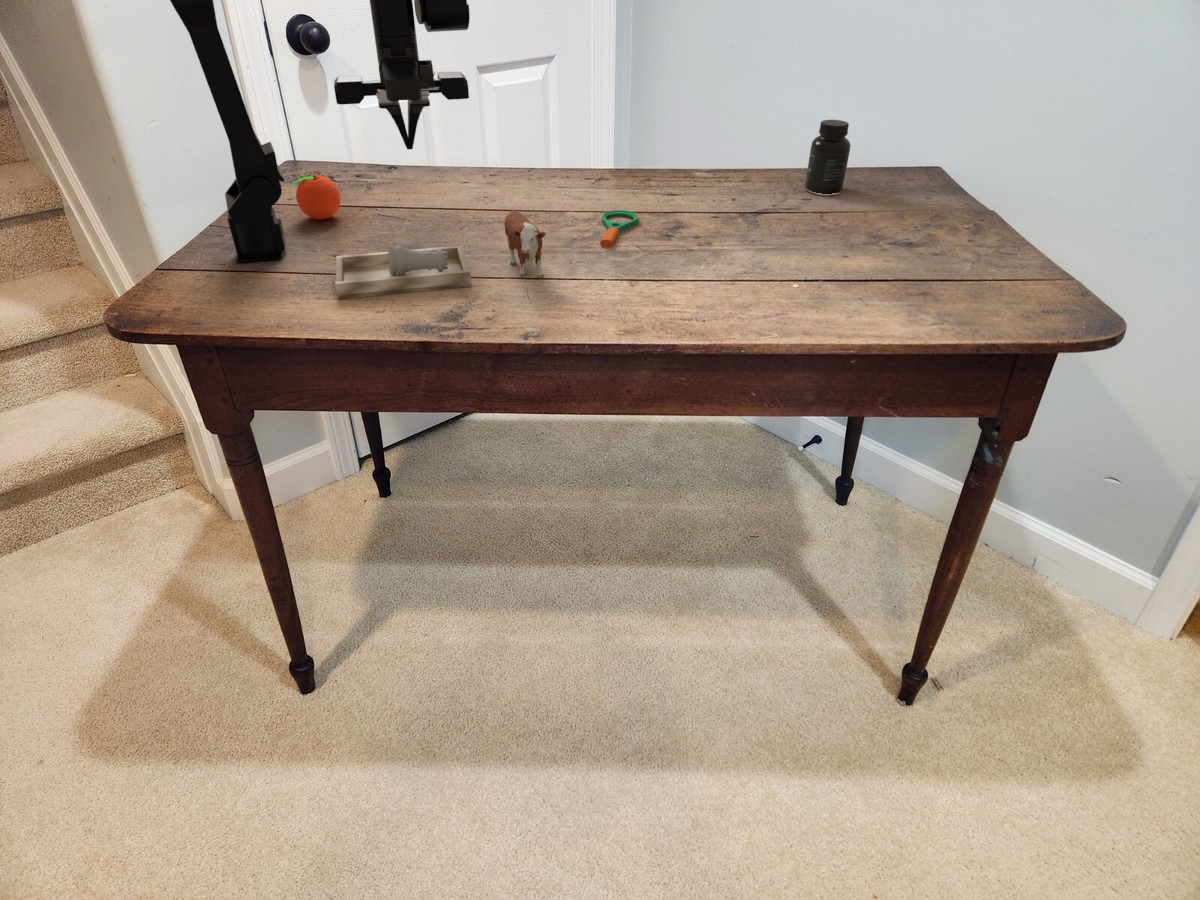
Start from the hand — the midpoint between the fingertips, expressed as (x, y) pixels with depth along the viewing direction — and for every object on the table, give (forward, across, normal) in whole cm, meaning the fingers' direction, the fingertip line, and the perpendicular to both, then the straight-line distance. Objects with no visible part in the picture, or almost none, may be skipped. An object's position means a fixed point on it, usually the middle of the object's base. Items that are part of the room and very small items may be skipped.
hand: (409, 148), depth 120 cm
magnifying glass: (+14, +31, -6) cm, 34 cm away
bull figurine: (+13, +14, -19) cm, 27 cm away
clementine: (+13, -16, +10) cm, 23 cm away
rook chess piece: (+10, -5, -18) cm, 21 cm away
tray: (+13, -4, -18) cm, 22 cm away
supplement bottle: (+13, +74, +5) cm, 75 cm away
